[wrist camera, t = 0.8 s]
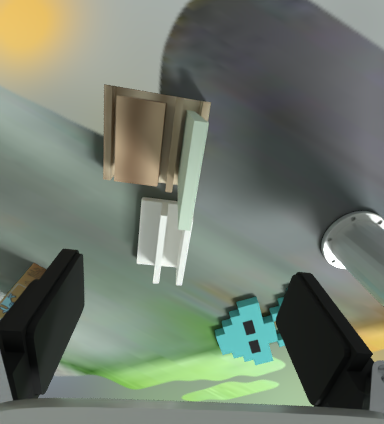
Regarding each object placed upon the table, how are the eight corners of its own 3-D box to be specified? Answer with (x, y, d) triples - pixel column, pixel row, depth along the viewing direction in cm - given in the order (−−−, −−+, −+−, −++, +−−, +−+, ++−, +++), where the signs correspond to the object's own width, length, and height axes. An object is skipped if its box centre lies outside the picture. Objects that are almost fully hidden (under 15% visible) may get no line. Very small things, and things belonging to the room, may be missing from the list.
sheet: (194, 111, 36) (209, 122, 20) (184, 176, 40) (190, 230, 24) (186, 109, 36) (194, 120, 20) (177, 175, 40) (177, 229, 24)
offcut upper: (166, 103, 33) (165, 103, 31) (158, 181, 38) (156, 186, 36) (120, 95, 33) (116, 95, 31) (118, 175, 37) (114, 181, 35)
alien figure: (295, 284, 54) (206, 308, 55) (299, 291, 52) (207, 316, 53) (304, 343, 62) (227, 362, 64) (309, 351, 60) (229, 371, 62)
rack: (206, 101, 37) (210, 102, 32) (192, 183, 43) (195, 195, 38) (110, 85, 36) (100, 83, 31) (109, 172, 41) (99, 183, 36)
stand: (194, 203, 44) (196, 219, 38) (183, 263, 49) (184, 285, 44) (142, 196, 43) (137, 212, 37) (137, 258, 48) (132, 281, 42)
